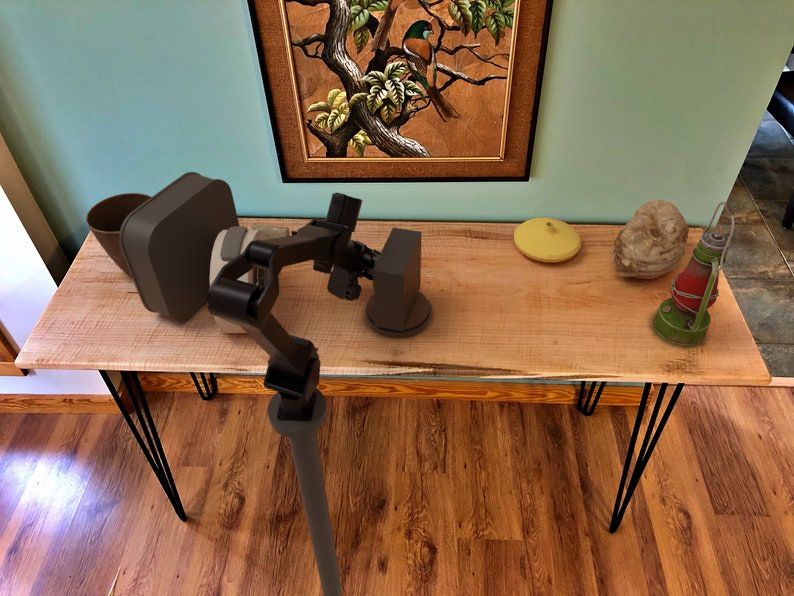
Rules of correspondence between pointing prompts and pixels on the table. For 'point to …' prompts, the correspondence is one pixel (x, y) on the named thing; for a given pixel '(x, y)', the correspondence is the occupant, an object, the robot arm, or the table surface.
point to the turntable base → (399, 334)
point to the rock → (651, 241)
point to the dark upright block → (398, 283)
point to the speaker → (177, 243)
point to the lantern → (694, 290)
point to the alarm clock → (228, 249)
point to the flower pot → (113, 223)
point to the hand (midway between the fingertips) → (379, 266)
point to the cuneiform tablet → (273, 231)
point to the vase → (547, 240)
